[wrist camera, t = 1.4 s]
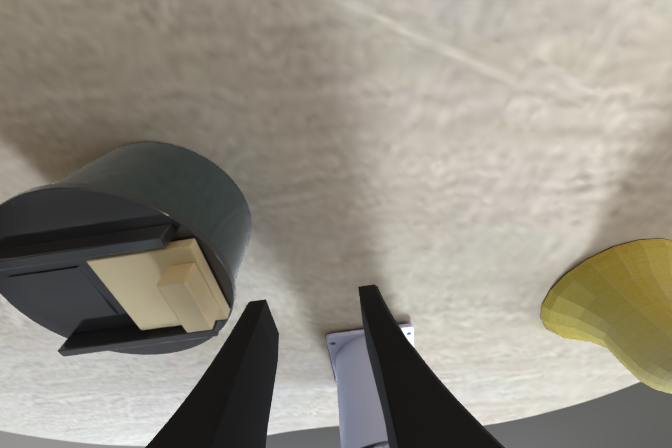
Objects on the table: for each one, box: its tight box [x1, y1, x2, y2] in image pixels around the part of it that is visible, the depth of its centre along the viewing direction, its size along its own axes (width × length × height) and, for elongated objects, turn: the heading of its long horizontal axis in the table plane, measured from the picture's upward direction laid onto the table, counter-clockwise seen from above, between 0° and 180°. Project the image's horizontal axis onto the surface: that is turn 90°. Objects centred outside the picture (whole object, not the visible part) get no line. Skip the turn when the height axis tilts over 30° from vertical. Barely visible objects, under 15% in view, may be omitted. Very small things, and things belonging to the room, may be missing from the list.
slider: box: [87, 238, 230, 333], centre depth 13 cm, size 4×5×2 cm
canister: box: [0, 142, 251, 356], centre depth 16 cm, size 11×11×8 cm
